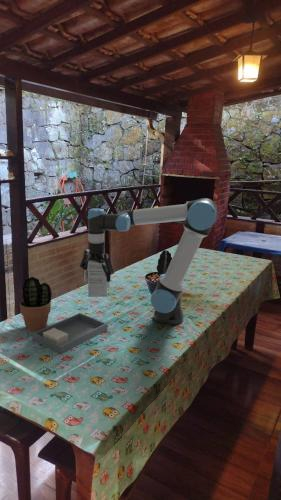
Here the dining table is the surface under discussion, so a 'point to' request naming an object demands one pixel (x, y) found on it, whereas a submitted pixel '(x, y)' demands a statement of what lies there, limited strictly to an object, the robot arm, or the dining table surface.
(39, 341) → the grey shallow rectangular tray
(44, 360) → the dining table surface
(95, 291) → the supplement box
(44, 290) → the potted plant
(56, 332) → the beige block
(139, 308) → the dining table surface
